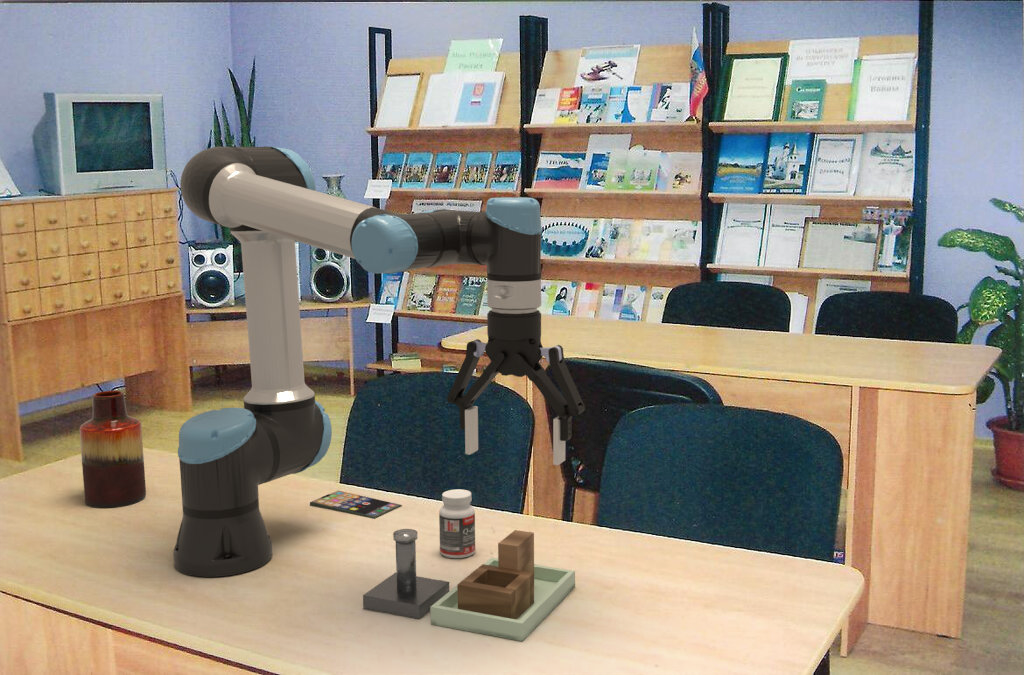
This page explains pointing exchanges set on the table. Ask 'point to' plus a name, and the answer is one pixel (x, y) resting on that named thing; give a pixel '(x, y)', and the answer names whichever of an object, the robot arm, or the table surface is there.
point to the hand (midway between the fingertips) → (514, 457)
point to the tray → (547, 595)
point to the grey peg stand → (405, 584)
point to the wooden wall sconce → (502, 580)
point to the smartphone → (355, 504)
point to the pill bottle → (457, 524)
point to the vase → (112, 454)
